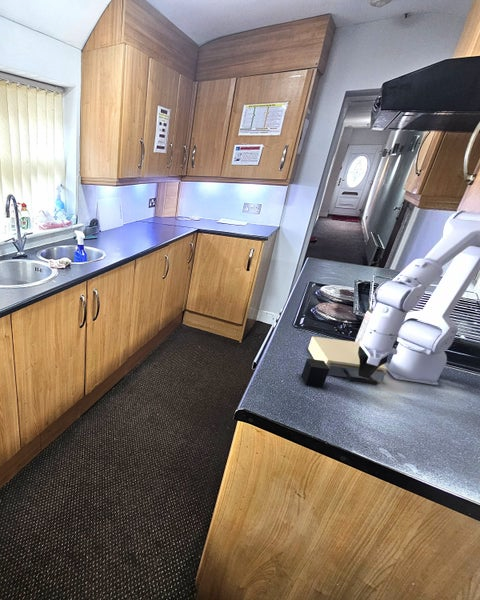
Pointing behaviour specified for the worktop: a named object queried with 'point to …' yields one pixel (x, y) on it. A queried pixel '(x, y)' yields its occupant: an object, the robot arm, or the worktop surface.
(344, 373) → the drawer
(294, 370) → the worktop surface
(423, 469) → the worktop surface
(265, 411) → the worktop surface
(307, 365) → the black block
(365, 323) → the energy drink
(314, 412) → the worktop surface
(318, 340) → the pale yellow drawer box
